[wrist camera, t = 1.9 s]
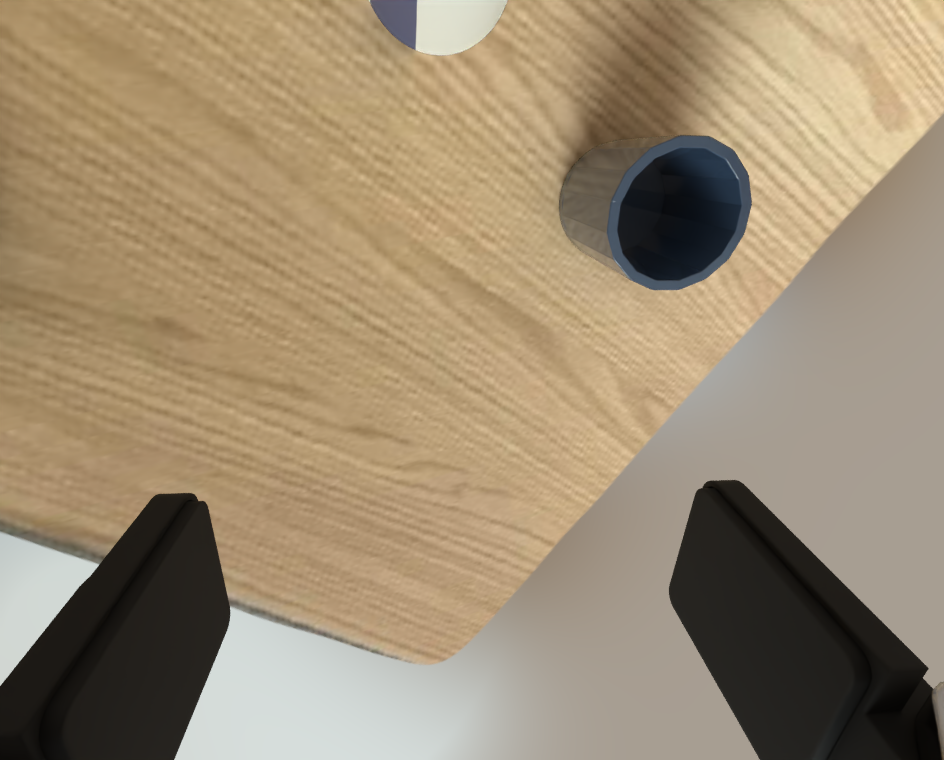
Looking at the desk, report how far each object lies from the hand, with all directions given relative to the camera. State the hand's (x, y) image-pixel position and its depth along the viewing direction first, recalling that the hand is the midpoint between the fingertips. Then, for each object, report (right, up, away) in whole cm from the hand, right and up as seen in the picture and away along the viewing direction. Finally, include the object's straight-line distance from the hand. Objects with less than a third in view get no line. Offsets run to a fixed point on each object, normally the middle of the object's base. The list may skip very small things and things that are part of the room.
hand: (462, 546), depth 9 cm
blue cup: (+9, +14, +21) cm, 27 cm away
